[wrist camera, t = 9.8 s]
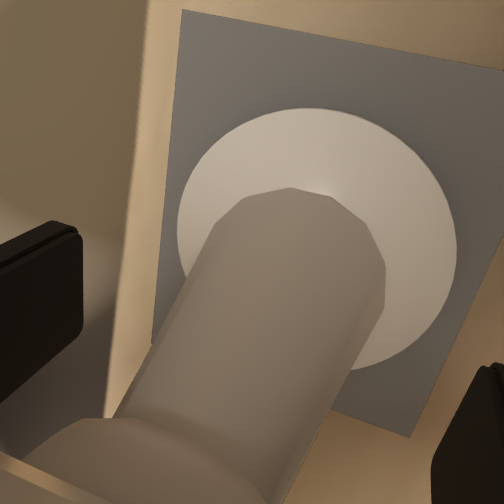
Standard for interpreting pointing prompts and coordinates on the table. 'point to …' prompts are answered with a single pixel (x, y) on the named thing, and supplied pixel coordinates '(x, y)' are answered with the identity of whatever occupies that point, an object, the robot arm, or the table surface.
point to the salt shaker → (237, 362)
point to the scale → (345, 178)
